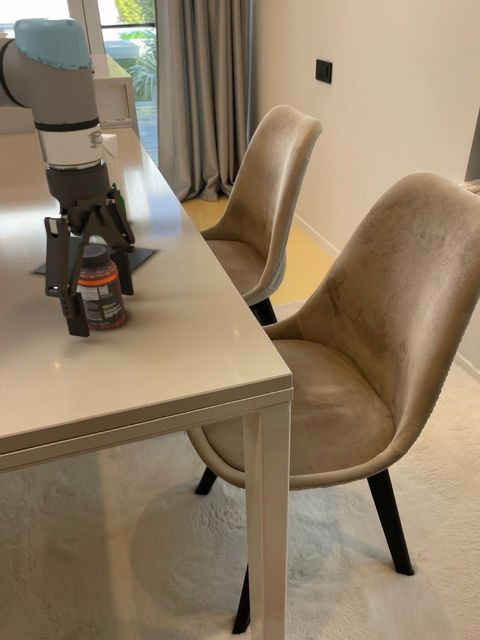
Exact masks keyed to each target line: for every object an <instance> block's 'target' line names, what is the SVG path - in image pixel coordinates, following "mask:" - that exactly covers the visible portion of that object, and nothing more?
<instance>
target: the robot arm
mask: <svg viewBox="0 0 480 640" xmlns="http://www.w3.org/2000/svg"><path fill="white" fill-rule="evenodd" d="M13 32H14V38H13V37H12V38H11V37H0V108H5V107H7V108H8V107H10V108H11V107H12V108H22V109H31V115H32V117H33V123H34V128H35V134H36V138H37V143H38V148H39V153H40V157H41V161H42V162H43V163H45V164H46V166H45V168H44V173H45V178H46V182H47V188H48V190H49V194H50V195H51V197H52V198H54V199H55V200H56V201H57V202H58V205H59V214H57V215H56V216H49V215H46V216H45V217H44V218H43V225H44V230H45V235H46V247H45V248H46V249H45V264H46V274H45V276H44V277H45V279H44V281H45V282H44V294H45V296H46V297H50V298H56V299H59V302H60V306H61V311H62V315H63V317H64V318H65V321H66V325H67V329H68V332H69V336H73V337H80V338H86V339H88V338H89V337H90V336H91V333H90V328H89V327H88V322H87V318H86V313H85V308H84V303H83V299H82V294H81V292H77V286H78V281H79V275H80V270H81V264H82V259H83V253H84V248H85V246H87V245H88V244H89V243H90V239H91V237H93V236H94V235H93V234H94V233H95V232H98V234H99V235H98V236H100V238H101V239H102V240H103V241H104V242H105V243H106V245H108V246H109V247H110V248H111V249H112V250H113V251H115V253H111V254H110V260H112V261H113V262H114V263H115V265H116V267H117V271H118V276H119V282H120V287H121V293H122V296H130V297H132V296H133V295H134V294H135V290H134V284H133V277H132V272H131V270H130V262H129V256H128V253H134V251H135V248H136V247H135V243H136V237H135V234H134V232H133V230H132V228H131V225H130V222H129V220H128V217H127V218H126V216H125V213H124V211H123V209H122V206H121V204H120V201H119V195H118V190H117V188H113V187H110V182H109V175H108V169H107V164H106V162H104V161H103V160H102V158H103V157H104V155H105V153H104V147H103V137H102V135H101V134H102V130H101V126H100V122H101V121H100V116H99V113H98V112H99V111H98V106H97V99H96V91H95V83H94V76H93V75H94V74H93V69H92V68H93V67H92V65H93V62H92V57H91V55H90V52H89V47H88V41H87V40H86V39H87V38H86V35H85V30H84V27H83V25H82V24H81V22H80V21H78V20H77V19H75V18H72V17H36V18H34V17H33V18H32V17H31V18H20V19H18V20H16V21H15V22H14V24H13ZM71 234H72V235H73V236H72V235H71Z"/></svg>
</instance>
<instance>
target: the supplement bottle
mask: <svg viewBox="0 0 480 640" xmlns="http://www.w3.org/2000/svg"><path fill="white" fill-rule="evenodd" d="M77 292H81V294H82V299H83V303H84V308H85V313H86V318H87V322H88V327H89V329H92V330H101V331H102V330H110V329H113V328H115V327H118V326H120V325H122V323H124V321H125V319H126V310H125V306H124V304H125V303H124V300H123V295H122V293H121V287H120V282H119V276H118V271H117V267H116V265H115V263H114V262H113V261H112V260H109V259H108V255H107V250H106V248H105V247H103V246H99V245H90V246H85V248H84V253H83V259H82V264H81V270H80V275H79V281H78V286H77Z"/></svg>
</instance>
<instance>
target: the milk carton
mask: <svg viewBox="0 0 480 640" xmlns="http://www.w3.org/2000/svg"><path fill="white" fill-rule="evenodd" d="M101 135H102V137H103V147H104V153H105V155H104V157H103V158H102V160H103V161H104V162H106V164H107V169H108V175H109V182H110V187H113V188H117V190H118V195H119V201H120V204H121V206H122V209H123V211H124V213H125V216H126V218H127V219H128V215H127V208H126V203H125V196H124V189H123V181H122V176H121V169H120V161H119V148H118V135H117V134H113V133H111V134H110V133H101ZM92 236H100V235H99V234H98V232H95V233H94V234H93V235H92Z"/></svg>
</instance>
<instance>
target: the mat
mask: <svg viewBox="0 0 480 640" xmlns="http://www.w3.org/2000/svg"><path fill="white" fill-rule="evenodd" d="M90 245H99V246H103V247H105V248H106V250H107V255H108V259H109V260H110V254H111V253H115V251H113V250H112V249H111V248H110V247H109V246H108V244H102V243H95V242H94V243H93V242H89V244H88V245H87V246H90ZM155 252H156V250H154V249H153V250H152V249H147V248H146V249H144V248H137V247H135V251H134V253H128V256H129V262H130V270H131V273H133V272H134V271H135V270H136V269H137V268H138V267H139V266H141V265H142V264H143V263H144V262H145V261H146V260H148V258H150V257H151V256H152V255H154V253H155ZM34 274H41V275H46V263H45V264H44V265H42V266H41V267H39V268H38V269H37V270H35V271H34Z"/></svg>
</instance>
